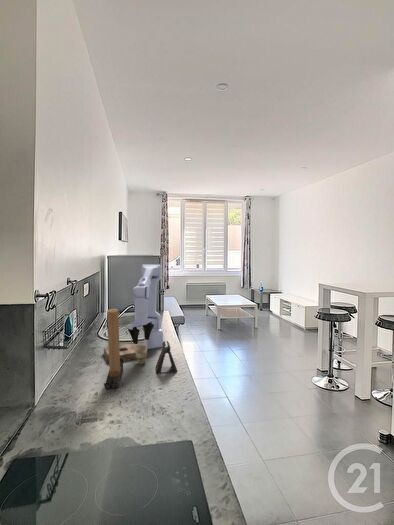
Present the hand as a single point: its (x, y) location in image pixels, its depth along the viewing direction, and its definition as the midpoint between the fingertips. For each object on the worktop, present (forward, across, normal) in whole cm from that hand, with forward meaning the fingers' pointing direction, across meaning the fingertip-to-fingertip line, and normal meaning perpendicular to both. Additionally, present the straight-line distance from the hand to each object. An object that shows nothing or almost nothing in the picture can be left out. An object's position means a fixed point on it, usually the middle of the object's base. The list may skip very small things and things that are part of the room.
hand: (141, 341), depth 138 cm
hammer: (+10, +19, +4) cm, 22 cm away
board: (+10, -2, -14) cm, 17 cm away
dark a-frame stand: (+10, 0, +15) cm, 18 cm away
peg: (+10, 0, 0) cm, 10 cm away
